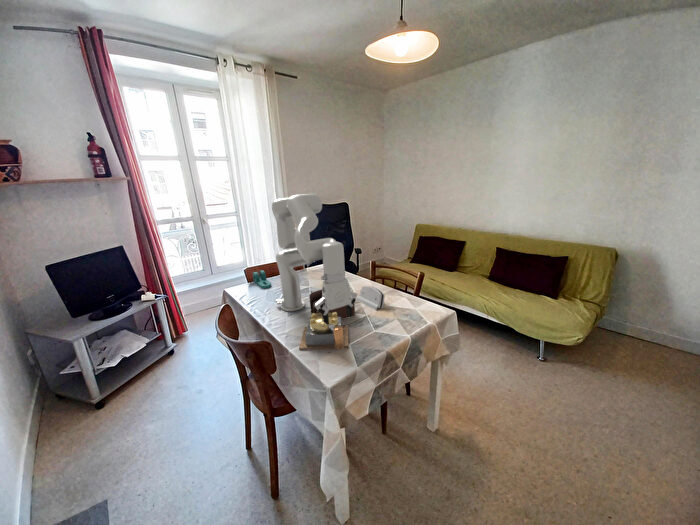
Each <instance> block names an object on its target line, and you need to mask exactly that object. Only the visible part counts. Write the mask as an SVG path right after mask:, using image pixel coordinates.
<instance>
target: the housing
mask: <svg viewBox="0 0 700 525" xmlns="http://www.w3.org/2000/svg"><path fill="white" fill-rule="evenodd" d="M338 326H341V327H342V328H343V340H344V347H343V348H342V349H348V348H350V347H349V346H350V345H349V325H348V324H346V325H342V319H341V317H338ZM299 349H310V350H329V349H331V350H333V349H336V348H335V345H334V334H333V333H332V332H331V331H330V332H325V333H319V332H315V331H313V330H312V329H311V328H310V320H308V324H307V326H305V327H304V328H303V333H302V335H301V339H300V343H299V347H298V350H299Z"/></svg>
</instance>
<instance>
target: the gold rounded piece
mask: <svg viewBox="0 0 700 525" xmlns="http://www.w3.org/2000/svg"><path fill="white" fill-rule="evenodd" d="M327 314H328V317H329V324H328V325H327V324H326V323H325V322H323V317H322V313H317V314H315V313H312V314H311V313H310V317H309V321H310V328H311V329H312V330H313V331H315V332H319V333H325V332H330V331H331V332H332V333H333V334H334V345H335V348H334V349H335V350H342V349H344V348H343V347H344V340H343V328H342V327H341V326H338V316H337V313H336V312H334V313H331V312H328V313H327Z"/></svg>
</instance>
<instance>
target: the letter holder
mask: <svg viewBox="0 0 700 525" xmlns="http://www.w3.org/2000/svg"><path fill="white" fill-rule="evenodd" d="M308 296H309V304H310V315H311V314H312V313H315V314H317V313H320V312H319V311H318V310H317V309H316V307H315V306H314V305H315V304H316V303H317V302H318V301H319V300H320V299H322V289H319V290H316V291H315V290H314V291H313V292H311V293H309V295H308ZM355 306H356V305H355V303H354V304H353V307H352V317H355V316H356V307H355ZM320 308H321V309H322V308H323V304H322V305H320ZM328 312H331V313H334V312H336V313H337V316H338V317H341V320H344V319H348V318H350V317H349V316H348V315H347V314H346V306H343V307H340V308H337V309H333V310H329V311H328Z"/></svg>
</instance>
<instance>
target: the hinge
mask: <svg viewBox="0 0 700 525" xmlns="http://www.w3.org/2000/svg"><path fill="white" fill-rule="evenodd" d="M385 297H386V295H385V293H384V292H383V291H382V290H380V289H378V288H377V287H374V286H370V285H369V286H368V285H366V286H365V285H364V286H362V287H361V290H360V291H359V295H357V297H356V302H359V303H361V304H363V305H364V304H365V305H364V306H367V307H368V308H371V310H372V309H373V310H374V311H377V310H378V308H379V309H381V308H384V304H385V303H384V302H385Z"/></svg>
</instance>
